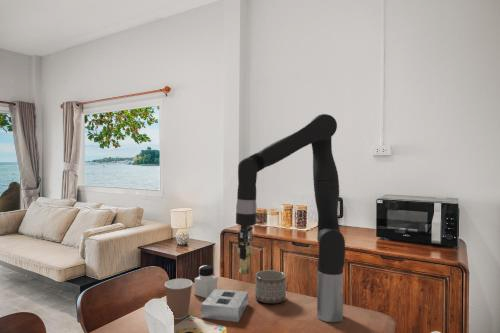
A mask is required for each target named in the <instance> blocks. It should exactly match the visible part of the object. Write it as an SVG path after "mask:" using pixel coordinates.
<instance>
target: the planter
mask: <svg viewBox="0 0 500 333" xmlns="http://www.w3.org/2000/svg"><path fill="white" fill-rule="evenodd" d="M254 276H255V280H254V281H255V282H254V283H255V284H254V285H255V288H254V297H255V299H256V301H258V302H261V303H264V304H278V303H281V302H284V301H285V299H286V294H287V293H286V292H287V290H286V288H287V287H286V286H287V285H286V283H287V282H286V281H287V274H285V272H283V271H279V270H274V269H270V270H267V269H266V270H259V271H258V272H256V273H255V275H254Z"/></svg>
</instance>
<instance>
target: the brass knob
mask: <svg viewBox="0 0 500 333" xmlns="http://www.w3.org/2000/svg"><path fill="white" fill-rule="evenodd" d="M242 245H244V244H243V243H242ZM237 255H238V256H240V249H239V248H238V247H237ZM252 255H253V245H252V244H250V245H249V244H247V248H246V259H240V258H239V268H238V269H239V270H238V271H239V274H240V275H248V274H250V256H252Z"/></svg>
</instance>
